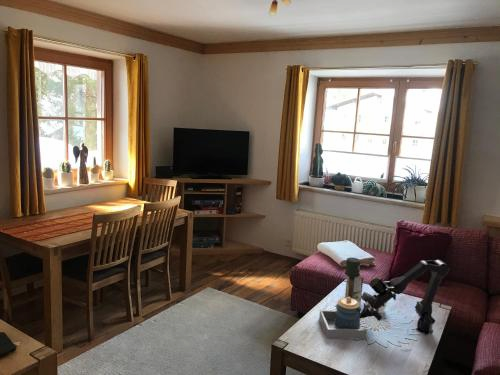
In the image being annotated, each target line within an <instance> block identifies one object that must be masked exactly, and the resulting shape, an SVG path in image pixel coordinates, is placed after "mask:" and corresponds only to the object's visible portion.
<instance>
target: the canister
mask: <svg viewBox="0 0 500 375" xmlns="http://www.w3.org/2000/svg"><path fill="white" fill-rule="evenodd" d="M335 308H336V310H335V311H336V320H334V321H335V322H334V325H335V327H334V328H335V329H361V319H360V316H361V314H360V313H361V311H362V307H361V305H360V303H359V302H357V301H356V300H355V299H352V298H351V297H347V298H346V297H343V298H340V299H338V300H337V303H336V305H335Z"/></svg>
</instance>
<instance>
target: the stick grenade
mask: <svg viewBox="0 0 500 375" xmlns="http://www.w3.org/2000/svg"><path fill="white" fill-rule="evenodd" d="M345 263H346V265H345V271H344V274H345V275H346V277H347V276H349V289H348V297H351V298H352V296H353V286H354V280H355V277H359V276H361V274H360V272H361V271H360V270H361V269H360V268H361V260H360V259H359V258H356V257H347V258H346V262H345Z"/></svg>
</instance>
